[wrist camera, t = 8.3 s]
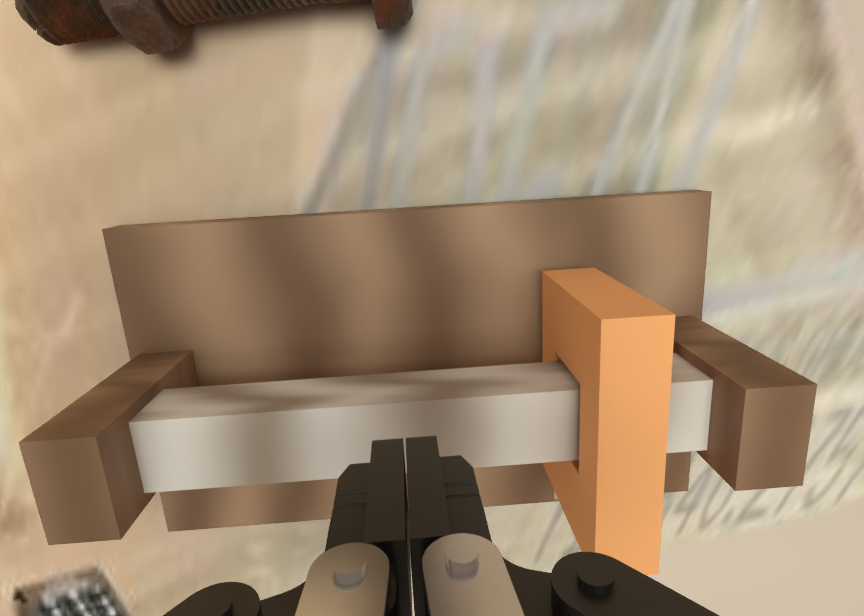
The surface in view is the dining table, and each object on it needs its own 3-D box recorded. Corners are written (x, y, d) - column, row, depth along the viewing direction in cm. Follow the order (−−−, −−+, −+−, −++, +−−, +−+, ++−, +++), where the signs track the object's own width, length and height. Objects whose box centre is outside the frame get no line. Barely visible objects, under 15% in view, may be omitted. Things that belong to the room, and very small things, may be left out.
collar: (542, 464, 28) (594, 579, 20) (542, 270, 25) (601, 319, 17) (589, 460, 28) (658, 574, 20) (594, 267, 25) (675, 314, 17)
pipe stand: (179, 513, 30) (73, 679, 21) (118, 225, 26) (-51, 264, 16) (674, 475, 31) (795, 617, 21) (695, 189, 27) (857, 207, 17)
